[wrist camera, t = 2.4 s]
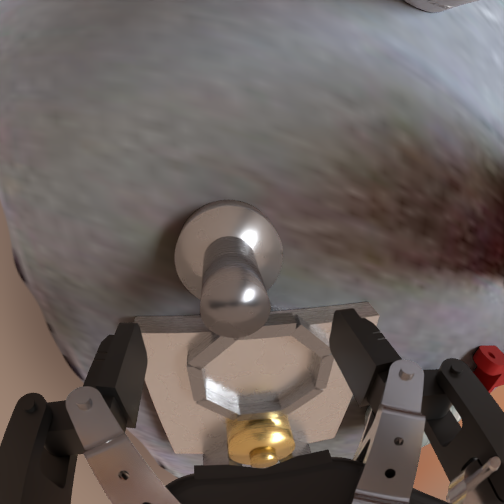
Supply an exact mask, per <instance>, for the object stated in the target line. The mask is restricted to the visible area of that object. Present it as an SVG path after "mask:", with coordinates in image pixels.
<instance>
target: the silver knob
mask: <svg viewBox="0 0 504 504" xmlns="http://www.w3.org/2000/svg"><path fill="white" fill-rule="evenodd" d="M282 262H283V249H282V244H281V241H280V238H279V236H278V234H277V232H276V230H275V229H274V227H273V226H272V224H271V222H270V221H269V219H268V218H267V217H266V216H265V215H264V214H263V213H262V212H261V211H260V210H259V209H257V208H255V207H254V206H252V205H250V204H248V203H245V202H241V201H236V200H220V201H216V202H212V203H209V204H207V205H205V206H203V207H201V208H199V209H198V210H197V211H195V212H194V213H193V214H192V215H191V216H190V217H189V218H188V220H187V221H186V222H185V224H184V226H183V227H182V230H181V232H180V235H179V238H178V241H177V244H176V248H175V266H176V271H177V274H178V276H179V278H180V280H181V282H182V283H183V285H184V286H185V287H186V288H187V290H188V291H189V292H191V293H192V294H193V295H194V296H196V297H197V298H199V299H201V303H200V314H201V318H202V320H203V322H204V324H205V325H206V327H207V328H208V329H210V330H211V331H212V332H214V333H215V334H217V335H220V336H223V337H227V338H240V337H245V336H248V335H251V334H253V333H255V332H256V331H258V330H259V329H260V328H261V327H262V326H263V325H264V324H265V323H266V321H267V320H268V317H269V315H270V310H271V306H270V301H269V297H268V294H267V291H268V290H269V289H270V287H271V286H272V285H273V284H274V282H275V281H276V279H277V277H278V275H279V273H280V271H281V267H282Z"/></svg>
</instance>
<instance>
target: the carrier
mask: <svg viewBox="0 0 504 504" xmlns="http://www.w3.org/2000/svg"><path fill="white" fill-rule="evenodd" d="M348 308H353V309H355V311H356V312H357V313H358V314H359V316H360V317H361V318H366V319H367V320H369V321H371V322H372V323H374V324H375V325H377V322H378V318H379V314H378V313H377V312H376V311H375V309H374V308H373V307H372V306H371V305H370V303H369V302H361V303H353V304H345V305H336V306H327V307H317V308H306V309H295V310H283V311H270V315H269V317H268V320H267V321H266V323H265V324H264V325H263V326H262V327H261V328H260V329H259V330H258V331H256V332H255V333H253V334H251V335H248V336H245V337H240V338H227V337H223V336H220V335H217V334H215V333H214V332H212V331H211V330H210V329H208V328H207V327H206V325H205V324H204V322H203V320H202V318H201V315H194V316H136V317H135V320H134V323H138V324H139V326H140V329H141V333H142V337H143V341H144V344H145V348H146V352H147V359H148V363H147V370H146V374H145V382H146V385H147V387H148V390H149V393H150V396H151V398H152V401H153V403H154V406H155V408H156V411H157V413H158V416H159V418H160V421H161V423H162V425H163V428H164V430H165V432H166V435H167V437H168V439H169V441H170V443H171V446H172V448H173V450H174V452H175V453H181V454H203V465H227V464H228V465H235V466H242V464H248V465H251V467H252V468H267V467H270V466H272V465H275V464H276V463H277V462H278V460H279V462H280V463H281V462H284V461H286V460H289V459H291V458H294V457H296V456H300V455H305V454H310V453H311V451H310V447H309V444H307V443H312V442H317V441H321V440H326V439H331V438H334V437H335V435H336V433H337V430H338V428H339V426H340V424H341V421H342V419H343V417H344V415H345V412H346V410H347V408H348V405H349V403H350V400H351V398H352V395H353V393H352V392H351V390H350V388H349V386H348V384H347V382H346V380H345V378H344V376H343V374H342V372H341V370H340V369H339V367H338V365H337V363H336V361H335V359H334V357H333V355H332V353H331V351H330V347H329V338H330V332H331V327H332V321H333V316H334V312H335V311H336V310H341V309H348Z"/></svg>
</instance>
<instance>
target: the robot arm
mask: <svg viewBox="0 0 504 504" xmlns="http://www.w3.org/2000/svg"><path fill="white" fill-rule="evenodd" d="M404 1H406V2H407V3H409V4H411V5H413V6H415V7H416V8H419V9H421V10H424V11H428V12H441V11H444V10H447V9H450V8H453V7H456V6H460V5H463V4H466V3H471V2H474V1H478V0H404ZM329 347H330V351H331V353H332V355H333V357H334V359H335V361H336V363H337V365H338V367H339V369H340V370H341V372H342V374H343V376H344V378H345V380H346V382H347V384H348V386H349V388H350V390H351V392H352V393H353V395H354V397H355V399H356V401H357V403H358V405H359V407H364V406H368V405H370V406H371V408H372V410H371V412H370V414H369V418H368V421H367V424H366V427H365V430H364V433H363V436H362V438H361V441H360V444H359V447H358V449H357V451H356V453H355V455H354V457H353V459H352V460H351V459H347V458H341V457H331V456H330V453H329V450H324V451H319V452H315V453H310V454H305V455H300V456H296V457H294V458H291V459H289V460H286V461H284V462H281V463H278V464H276V465H273V466H270V467H267V468H252V467H243V466H235V465H228V464H227V465H200V466H194V474H190V475H186V476H183V477H181V478H178V479H176V480H174V481H172V482H171V483H169V484H168V485H166V486H164V484H163V483H162V482H161V481H160V480H159V478H158V477H157V476H156V475H155V474H154V473H153V471H152V470H151V468H150V467H149V466H148V465H147V463H146V462H145V461H144V459H143V458H142V457H141V455H140V454H139V453H138V451H137V450H136V448H135V447H134V446H133V444H132V443H131V441H130V440H129V438H128V437H127V435H126V434H125V430H126V427H128V428H136V422H137V416H138V410H139V405H140V400H141V394H142V389H143V384H144V379H145V374H146V370H147V363H148V359H147V352H146V348H145V344H144V341H143V337H142V333H141V329H140V326H139V324H138V323H120V324H119V325H118V328H117V330H116V333H115V335H108V336H107V337H106V338H105V339H104V340H103V341H102V342H101V344H100V346H99V348H98V351H97V353H96V355H95V358H94V361H93V363H92V365H91V367H90V370H89V372H88V375H87V377H86V380H85V382H84V385H83V387H79V388H77V389H75V390H73V391H72V392H71V393H70V394H69V395H68V397H67V399H66V400H65V401H58V402H49V403H47V402H46V400H45V399H44V397H43V396H42V395H40V394H37V393H29V394H26V395H24V396H23V397H21V398H20V399H19V401H18V402H17V404H16V406H15V409H14V411H13V414H12V416H11V418H10V421H9V424H8V426H7V429H6V431H5V434H4V437H3V440H2V443H1V446H0V504H71V495H72V487H73V480H74V473H75V467H76V461H77V456H78V454H84V456H85V458H86V460H87V462H88V464H89V466H90V467H91V469H92V471H93V473H94V475H95V477H96V478H97V480H98V482H99V483H100V485H101V487H102V488H103V490H104V492H105V493H106V495H107V496H108V498H109V499H110V501H111V503H112V504H504V412H503V411H502V409H501V408H500V407H499V405H498V404H497V403H496V401H495V400H494V399H493V397H492V396H491V395H490V393H489V392H488V391H487V389H486V388H485V387H484V386H483V384H482V383H481V382H480V380H479V379H478V378H477V377H476V375H475V374H474V373H473V372H472V371H471V369H470V368H469V367H468V366H467V365H466V364H465V363H464V362H463V361H461V360H458V359H454V358H450V359H446V360H445V361H443V363H442V364H441V366H440V368H439V369H435V370H423V369H422V368H421V366H419V365H418V364H417V363H415V362H413V361H410V360H404V359H403V360H402V359H401V357H400V356H399V355H398V354H397V352H396V351H395V350H394V348H393V347H392V346H391V344H390V343H389V342H388V341H387V339H385V337H384V336H383V334H382V333H380V330H379V329H378V328H377V327H376V325H375V324H374V323H372V322H371V321H369V320H367V319H366V318H361V317H360V316H359V314H358V313H357V312H356V311H355V309H353V308H348V309H341V310H336V311H335V312H334V316H333V321H332V327H331V332H330V338H329ZM452 405H453V406H454V408H455V409H456V411H457V412H458V414H459V415H460V417H461V419H462V423H463V424H462V428H461V426H460V425H459V423H458V421H457V420H456V418H455V417H454V415H453V414H452V412H451V410H450V408H451V406H452ZM424 432H425V434H426V436H427V438H428V440H429V442H430V443H431V445H432V447H433V449H434V451H435V453H436V455H437V457H438V459H439V461H440V463H441V465H442V467H443V468H444V471H445V473H446V475H447V477H448V479H449V481H450V485H449V489H448V495H447V497H446V500H447V502H445V501H443V500H440V499H438V498H435V497H433V496H430V495H428V494H425V493H423V492H420V491H418V490H416V489H414V488H413V484H414V480H415V476H416V471H417V467H418V462H419V457H420V452H421V446H422V440H423V434H424Z"/></svg>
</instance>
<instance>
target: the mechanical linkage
mask: <svg viewBox="0 0 504 504" xmlns="http://www.w3.org/2000/svg"><path fill="white" fill-rule="evenodd" d="M473 360H474V362H475V363H476V365H477V368H476V369H475V370H474V372H473V373H474V374H475V375H476V377H477V378H478V379H479V380H480V382H481V383H482V384H483V386H484V387H485V388H486V389H487V391H488V392H489V393H491V392H492V390H493V389H494V388H495V387H498V386H500V385H503V384H504V354H503V353H502V352H501V351H500V350H499V349H498V348H497V347H496V346H480V347H479V348H478V350H477V351H476V353H475V354H474V356H473Z"/></svg>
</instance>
